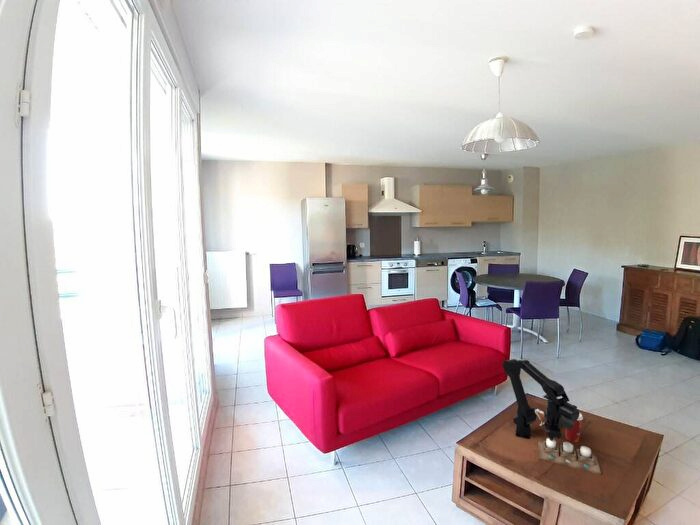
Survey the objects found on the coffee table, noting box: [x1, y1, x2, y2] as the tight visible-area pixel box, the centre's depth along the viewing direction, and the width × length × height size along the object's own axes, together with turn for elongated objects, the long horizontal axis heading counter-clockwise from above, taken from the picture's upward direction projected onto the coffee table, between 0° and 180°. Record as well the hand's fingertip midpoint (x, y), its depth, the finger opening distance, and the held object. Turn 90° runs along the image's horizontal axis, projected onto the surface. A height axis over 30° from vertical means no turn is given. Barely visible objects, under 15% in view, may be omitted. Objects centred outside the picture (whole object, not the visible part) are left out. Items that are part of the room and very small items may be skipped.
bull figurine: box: [535, 408, 546, 427], centre depth 188 cm, size 4×13×8 cm, turn 54°
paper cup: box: [565, 412, 584, 443], centre depth 177 cm, size 8×8×14 cm
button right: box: [580, 445, 592, 458], centre depth 161 cm, size 4×4×4 cm
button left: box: [545, 437, 557, 450], centre depth 167 cm, size 4×4×4 cm
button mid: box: [562, 441, 574, 454], centre depth 164 cm, size 4×4×4 cm
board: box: [537, 440, 602, 476], centre depth 163 cm, size 24×12×4 cm, turn 64°
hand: (551, 440), depth 167 cm, fingers closed
